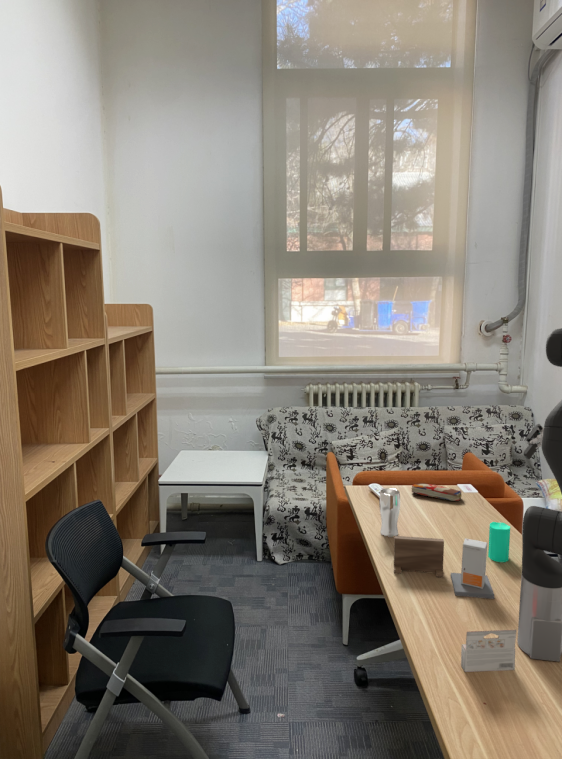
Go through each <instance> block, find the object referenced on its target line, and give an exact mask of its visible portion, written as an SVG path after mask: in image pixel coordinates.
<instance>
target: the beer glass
mask: <svg viewBox="0 0 562 759" xmlns="http://www.w3.org/2000/svg"><path fill="white" fill-rule="evenodd" d="M379 492H380V493H379V507H378V508H379V513H380V518H381V525H380V526H381V527H380V531H379V532H380V535H382V536H383V535H384V536H383V537H386V536H388V537H387V538H394V537H393V536H399V529H398V520H399V515H400V511H401V494H400V493H401V492H400V490H398V489H396V488H389V487H388V488H387V487H386V488H381V489H380V491H379Z"/></svg>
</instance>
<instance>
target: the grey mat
mask: <svg viewBox="0 0 562 759" xmlns="http://www.w3.org/2000/svg"><path fill="white" fill-rule="evenodd" d="M450 579H451V580H450V581H451V585H452V588H453V591H454V596H456V597H457V596H458V597H466V598H467V597H469V598H481V599H491V600H494V599H495V593H494V590H493V586H492V585H491V581H490V579H489V576H488V575H486V574H485V583H484V587H483V589H481V588H477V587H473V586H469V585H465V584H461V573H459V572H450Z"/></svg>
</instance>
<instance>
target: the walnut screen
mask: <svg viewBox="0 0 562 759" xmlns="http://www.w3.org/2000/svg"><path fill="white" fill-rule="evenodd" d="M393 538H394V540H393V541H394V545H393V552H394V553H393V573H394V574H395V575H402V571H405V572H417V573H429V574H435V576H436V578H445V573H444V572H445V571H444V556H445V555H444V554H445V553H444V552H445V551H444V550H445V547H444V546H445V540H444V538H433V537H432V538H431V537H428V538H427V537H418V536H406V535H405V536H403V535H401V536H400V535H397V536H395V537H393Z"/></svg>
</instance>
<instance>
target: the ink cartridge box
mask: <svg viewBox="0 0 562 759" xmlns="http://www.w3.org/2000/svg"><path fill="white" fill-rule="evenodd" d="M490 634H491V635H492V634H493V635H495V636H498V637H488V638H487V637H485V636H488V635H490ZM465 636H466V637H465V643H464V644H463V643H462V644H461V652H460V653H461V654H460V656H461V657H460V665H461V668H462V670H463V671H464V673H469V672H471V673H472V672H473V673H474V672H496V671H515V668H516V643H517V642H516V640H517V629H500V630H499V629H498V630H497V629H496V630H473V631H466V635H465Z"/></svg>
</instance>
